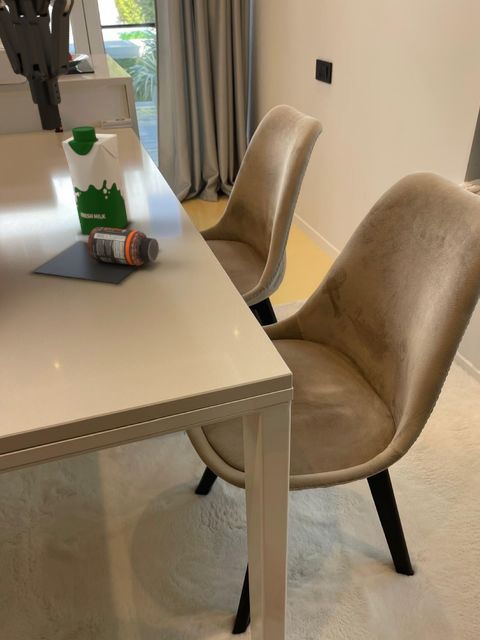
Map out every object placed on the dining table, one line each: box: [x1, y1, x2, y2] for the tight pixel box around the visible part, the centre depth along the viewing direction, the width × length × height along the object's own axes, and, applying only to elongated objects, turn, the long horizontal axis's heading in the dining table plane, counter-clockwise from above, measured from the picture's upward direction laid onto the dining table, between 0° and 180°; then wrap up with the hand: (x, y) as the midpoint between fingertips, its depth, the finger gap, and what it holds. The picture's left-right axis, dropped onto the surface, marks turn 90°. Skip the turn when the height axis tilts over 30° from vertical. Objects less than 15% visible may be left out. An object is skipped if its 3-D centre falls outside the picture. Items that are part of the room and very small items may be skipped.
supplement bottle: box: [87, 227, 160, 267], centre depth 97 cm, size 6×6×11 cm
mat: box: [34, 241, 139, 285], centre depth 99 cm, size 16×14×1 cm
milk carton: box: [61, 125, 129, 235], centre depth 108 cm, size 9×9×20 cm
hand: (52, 128), depth 83 cm, fingers closed
